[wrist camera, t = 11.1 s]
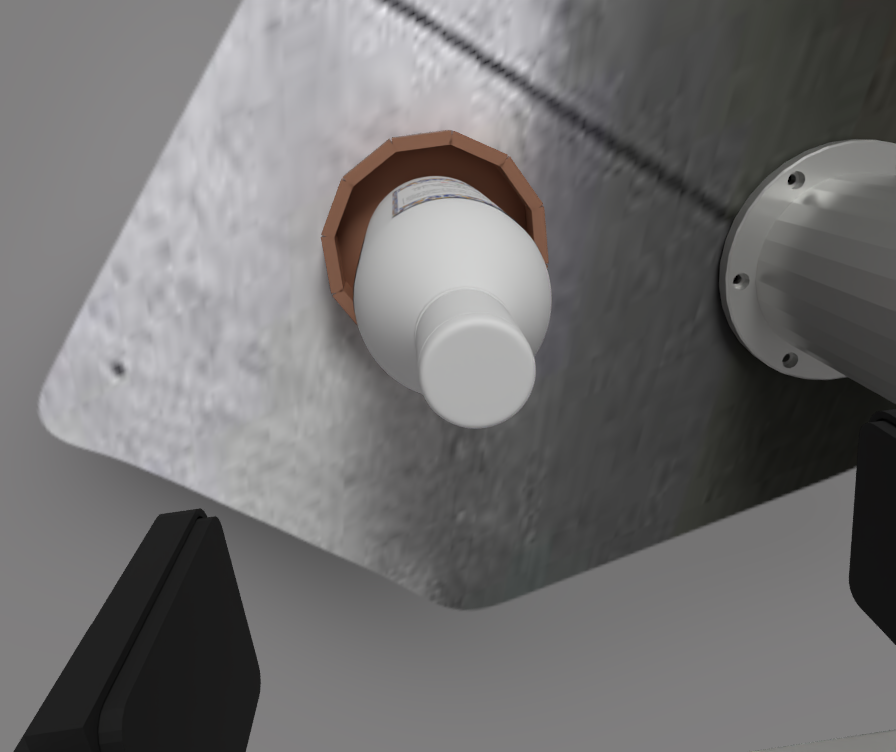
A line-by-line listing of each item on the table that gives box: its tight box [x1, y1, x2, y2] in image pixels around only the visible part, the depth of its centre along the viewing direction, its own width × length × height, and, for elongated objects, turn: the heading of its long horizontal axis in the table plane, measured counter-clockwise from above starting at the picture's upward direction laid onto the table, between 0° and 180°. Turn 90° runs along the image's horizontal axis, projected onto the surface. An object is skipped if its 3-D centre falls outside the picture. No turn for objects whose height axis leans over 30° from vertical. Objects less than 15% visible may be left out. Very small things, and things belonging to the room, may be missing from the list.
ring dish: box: [321, 130, 548, 326], centre depth 36 cm, size 11×11×3 cm
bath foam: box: [353, 176, 552, 429], centre depth 27 cm, size 7×7×20 cm
